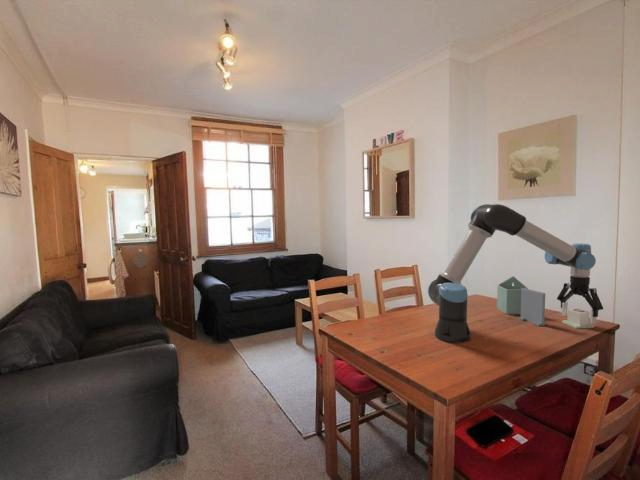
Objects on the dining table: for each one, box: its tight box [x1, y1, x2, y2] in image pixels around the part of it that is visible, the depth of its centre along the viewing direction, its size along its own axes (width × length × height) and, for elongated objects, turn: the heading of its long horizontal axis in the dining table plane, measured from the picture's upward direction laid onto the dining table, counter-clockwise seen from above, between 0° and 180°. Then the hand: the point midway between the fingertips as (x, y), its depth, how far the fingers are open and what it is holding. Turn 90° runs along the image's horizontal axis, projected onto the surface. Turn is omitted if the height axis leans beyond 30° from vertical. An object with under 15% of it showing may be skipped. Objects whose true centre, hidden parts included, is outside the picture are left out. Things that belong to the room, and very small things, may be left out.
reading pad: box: [561, 319, 596, 329], centre depth 167 cm, size 9×9×1 cm
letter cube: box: [566, 308, 590, 326], centre depth 167 cm, size 6×6×6 cm
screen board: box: [518, 288, 547, 327], centre depth 172 cm, size 12×5×16 cm, turn 18°
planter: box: [496, 275, 529, 315], centre depth 188 cm, size 16×8×20 cm, turn 40°
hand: (578, 319), depth 167 cm, fingers open, 13 cm apart
